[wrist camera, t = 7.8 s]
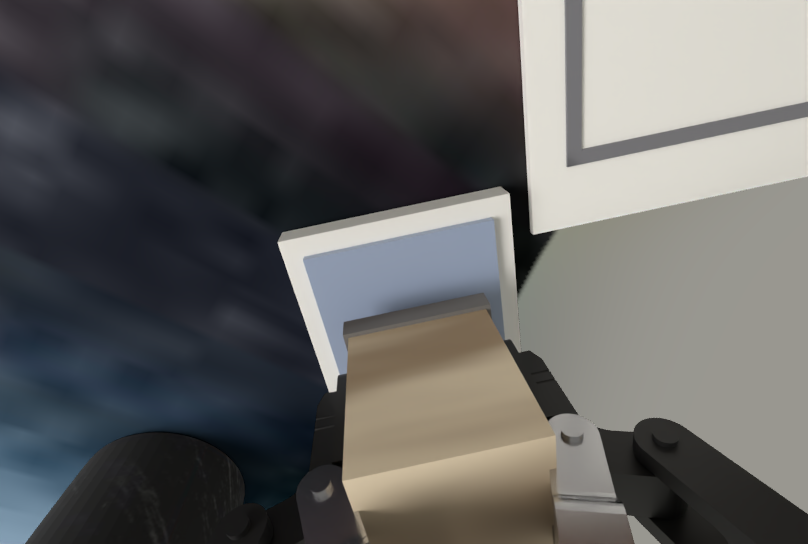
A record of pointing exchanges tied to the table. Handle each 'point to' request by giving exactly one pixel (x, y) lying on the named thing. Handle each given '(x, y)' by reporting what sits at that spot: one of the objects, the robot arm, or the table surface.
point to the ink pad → (402, 267)
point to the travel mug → (146, 494)
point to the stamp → (443, 430)
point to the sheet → (659, 103)
